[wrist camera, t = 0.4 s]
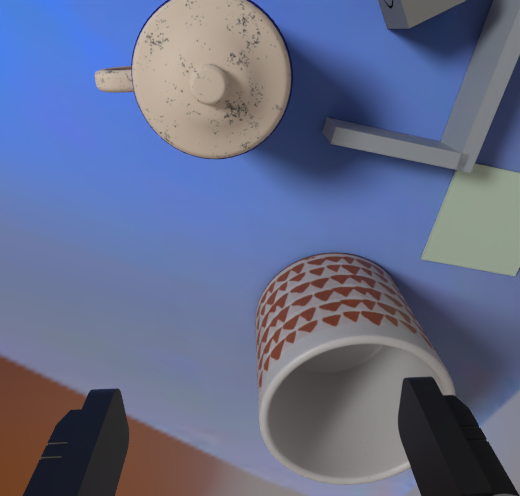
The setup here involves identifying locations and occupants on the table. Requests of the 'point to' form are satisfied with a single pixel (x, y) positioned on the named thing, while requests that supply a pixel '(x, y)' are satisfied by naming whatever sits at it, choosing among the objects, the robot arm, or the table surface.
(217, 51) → the teacup with lid
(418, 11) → the dice cube
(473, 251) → the mat
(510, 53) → the pen walls
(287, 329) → the planter
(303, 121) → the table surface
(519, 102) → the table surface
